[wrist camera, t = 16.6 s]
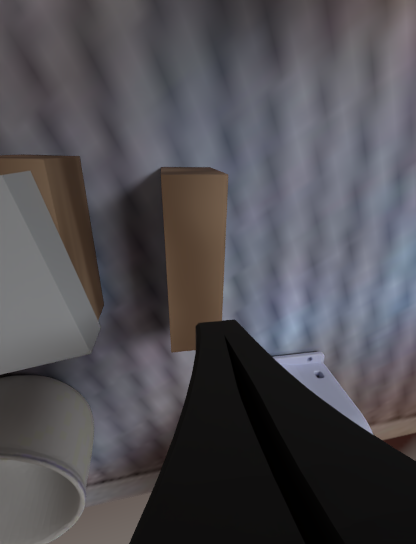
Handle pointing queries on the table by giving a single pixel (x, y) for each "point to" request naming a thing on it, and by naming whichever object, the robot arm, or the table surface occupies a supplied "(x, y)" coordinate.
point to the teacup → (42, 458)
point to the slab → (37, 284)
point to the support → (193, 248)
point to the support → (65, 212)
